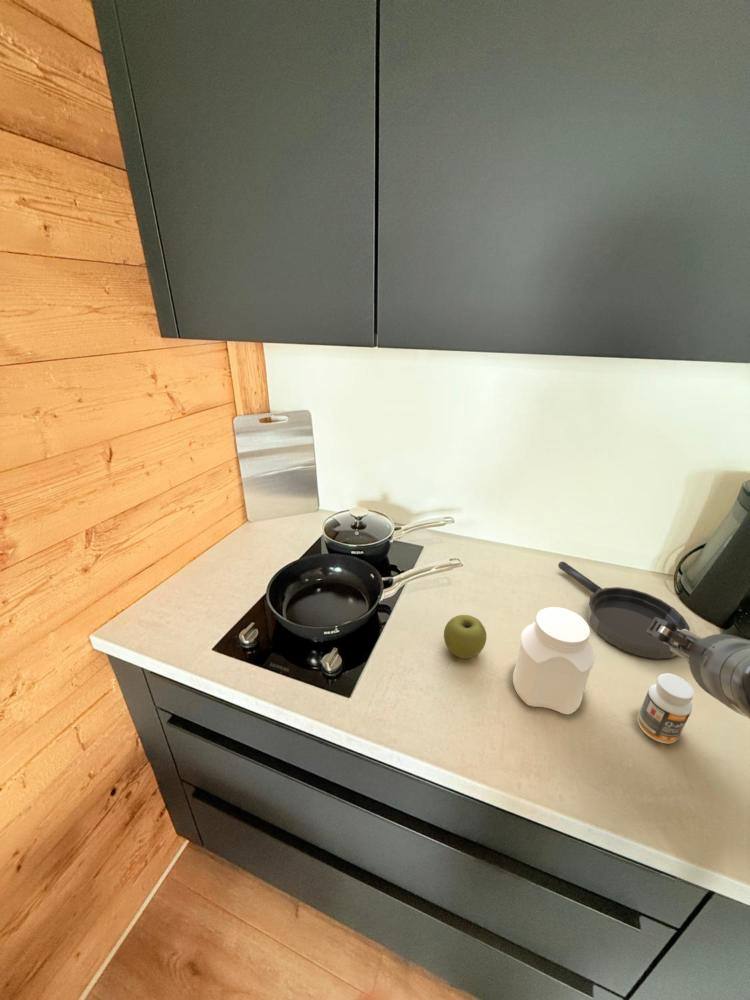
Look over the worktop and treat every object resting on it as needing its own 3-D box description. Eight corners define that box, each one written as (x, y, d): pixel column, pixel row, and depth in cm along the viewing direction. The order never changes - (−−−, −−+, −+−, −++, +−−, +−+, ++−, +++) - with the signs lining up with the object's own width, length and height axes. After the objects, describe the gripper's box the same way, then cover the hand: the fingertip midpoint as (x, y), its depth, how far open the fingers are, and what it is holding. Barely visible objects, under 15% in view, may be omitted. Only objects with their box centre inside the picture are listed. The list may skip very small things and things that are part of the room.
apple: (483, 669, 79) (488, 641, 76) (440, 662, 81) (443, 634, 78) (483, 640, 86) (487, 613, 83) (443, 634, 87) (446, 607, 84)
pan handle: (561, 565, 107) (563, 559, 106) (604, 596, 96) (606, 589, 95) (555, 567, 106) (557, 561, 105) (598, 599, 95) (600, 591, 94)
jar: (577, 674, 78) (596, 611, 71) (584, 719, 70) (607, 653, 63) (512, 660, 81) (524, 598, 74) (512, 702, 73) (526, 637, 66)
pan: (626, 590, 100) (630, 579, 98) (705, 644, 85) (711, 632, 83) (567, 610, 94) (570, 599, 92) (641, 672, 79) (646, 659, 77)
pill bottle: (663, 751, 65) (684, 708, 61) (628, 721, 70) (645, 679, 65) (685, 735, 67) (707, 692, 63) (650, 707, 72) (668, 665, 68)
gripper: (845, 691, 42) (766, 661, 57) (691, 606, 48) (656, 599, 62) (802, 753, 42) (735, 707, 57) (655, 661, 48) (628, 641, 63)
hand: (694, 651), depth 60 cm, fingers open, 8 cm apart
